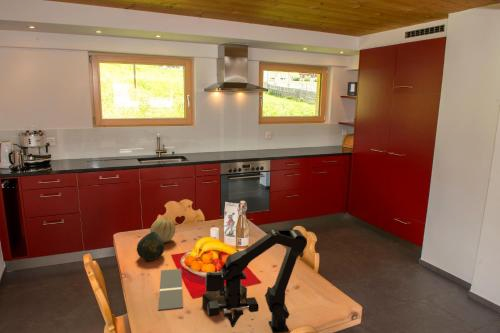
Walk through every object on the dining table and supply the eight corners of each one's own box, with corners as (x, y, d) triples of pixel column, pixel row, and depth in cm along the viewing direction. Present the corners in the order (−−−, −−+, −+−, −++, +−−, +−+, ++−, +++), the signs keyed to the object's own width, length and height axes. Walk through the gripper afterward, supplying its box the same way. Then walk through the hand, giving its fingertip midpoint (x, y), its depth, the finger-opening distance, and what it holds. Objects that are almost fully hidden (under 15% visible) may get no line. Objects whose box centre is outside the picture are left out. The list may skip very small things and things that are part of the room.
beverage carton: (247, 300, 150) (248, 286, 149) (211, 316, 138) (211, 301, 137) (236, 292, 156) (236, 279, 155) (201, 307, 144) (201, 293, 143)
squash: (130, 255, 177) (150, 233, 178) (132, 245, 192) (150, 224, 193) (152, 270, 182) (171, 248, 183) (152, 259, 196) (169, 239, 197)
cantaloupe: (145, 244, 205) (145, 220, 202) (159, 235, 219) (158, 213, 216) (167, 248, 201) (167, 223, 198) (179, 238, 214) (179, 216, 212)
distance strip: (182, 307, 143) (182, 306, 143) (158, 310, 141) (158, 309, 140) (181, 269, 175) (181, 268, 175) (161, 271, 173) (161, 270, 173)
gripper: (252, 276, 136) (251, 311, 139) (206, 280, 132) (205, 316, 135) (259, 291, 126) (258, 329, 129) (209, 296, 122) (208, 335, 124)
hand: (232, 326), depth 129 cm, fingers closed
